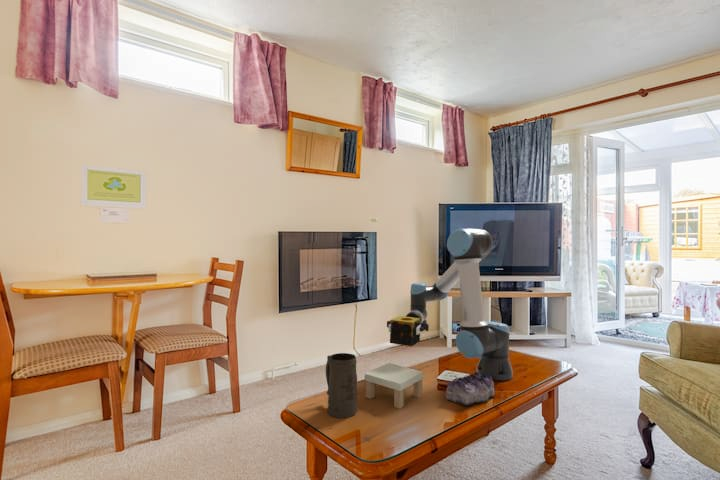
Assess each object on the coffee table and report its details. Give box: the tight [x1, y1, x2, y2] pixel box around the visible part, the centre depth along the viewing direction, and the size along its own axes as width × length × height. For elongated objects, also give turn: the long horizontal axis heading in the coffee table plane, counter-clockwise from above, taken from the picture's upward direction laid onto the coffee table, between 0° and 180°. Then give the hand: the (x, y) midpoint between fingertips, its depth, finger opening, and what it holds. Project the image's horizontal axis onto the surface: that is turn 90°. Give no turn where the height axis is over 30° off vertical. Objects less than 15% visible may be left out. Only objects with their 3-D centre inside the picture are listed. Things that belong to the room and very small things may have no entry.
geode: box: [445, 373, 495, 406], centre depth 149 cm, size 20×12×10 cm, turn 120°
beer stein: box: [325, 352, 359, 419], centre depth 139 cm, size 15×10×20 cm
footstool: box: [364, 362, 424, 410], centre depth 151 cm, size 16×16×9 cm
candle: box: [389, 315, 421, 347], centre depth 168 cm, size 10×10×10 cm
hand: (403, 330), depth 164 cm, fingers closed on candle, 11 cm apart
